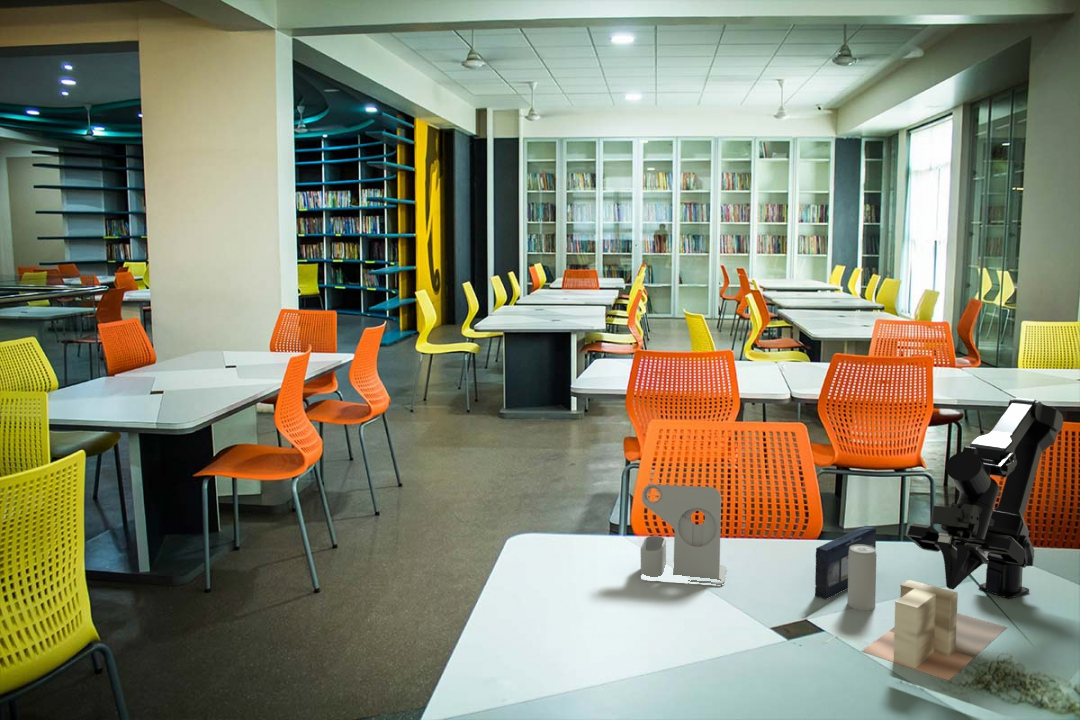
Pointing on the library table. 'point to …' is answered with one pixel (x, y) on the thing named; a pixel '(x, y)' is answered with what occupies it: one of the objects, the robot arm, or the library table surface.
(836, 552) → the vhs cassette tape
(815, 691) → the library table surface
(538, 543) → the library table surface
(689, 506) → the phone holder
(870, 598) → the beverage can
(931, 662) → the board
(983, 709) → the library table surface
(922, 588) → the T block
